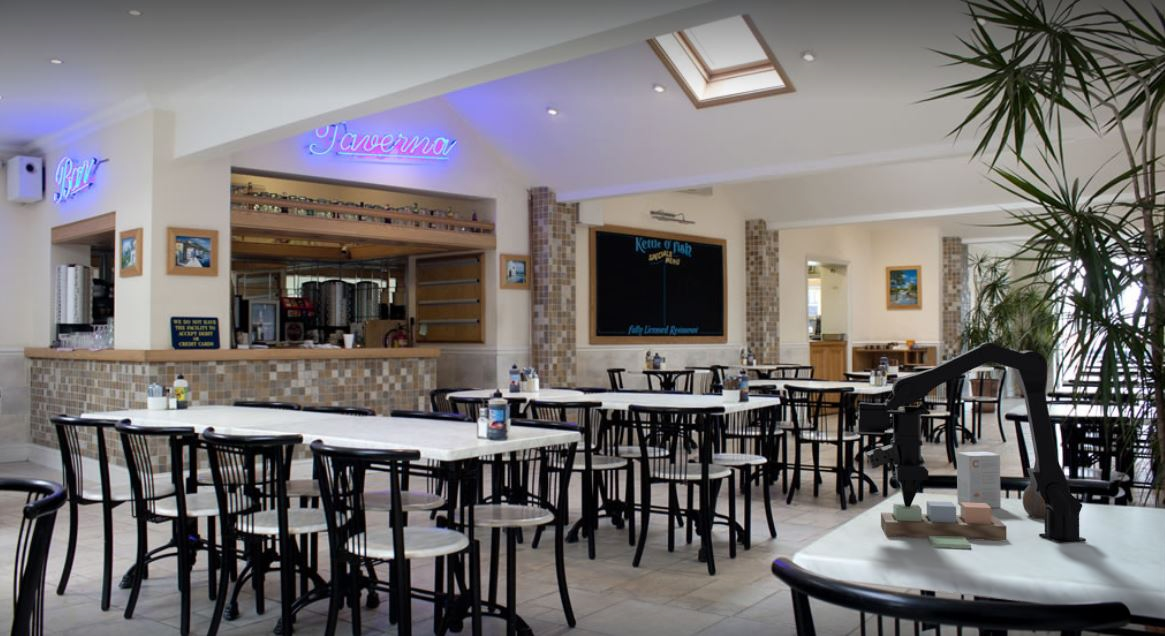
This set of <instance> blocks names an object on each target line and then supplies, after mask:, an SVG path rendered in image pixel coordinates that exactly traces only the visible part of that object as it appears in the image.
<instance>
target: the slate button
mask: <svg viewBox="0 0 1165 636" xmlns="http://www.w3.org/2000/svg"><path fill="white" fill-rule="evenodd" d="M926 514H927V520H928V521H929V522H953V523H956V515H957V506H956V505H955V504H954V503H953V502H952V501H929V500H928V501H926Z"/></svg>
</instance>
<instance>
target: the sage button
mask: <svg viewBox="0 0 1165 636" xmlns="http://www.w3.org/2000/svg"><path fill="white" fill-rule="evenodd" d="M892 505H893V507H892V509H893V510H892V511H893V512H892V513H893V518H894V520H899V521H922V514H923V511H922V508H921V507H920V505H919V504H917V503H914V504H913V503H912V504H911V506H910V507H906V506H905V505H904V503H893V504H892Z"/></svg>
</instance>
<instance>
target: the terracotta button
mask: <svg viewBox="0 0 1165 636" xmlns="http://www.w3.org/2000/svg"><path fill="white" fill-rule="evenodd" d="M960 515H961V520H962V522H963V523H981V524H991V516H992V508H991V507H990V506H989V505H988V504H986V503H967V502H961V505H960Z"/></svg>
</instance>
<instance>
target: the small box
mask: <svg viewBox="0 0 1165 636" xmlns="http://www.w3.org/2000/svg"><path fill="white" fill-rule="evenodd" d="M956 481H957V483H956V485H957V487H956V489H957V493H956V494H957V505H959V506H961V502H967V503H986V504H988V505H989V506H990V507H991V509H992V508H1001V507H1002V506H1001V505H1002V504H1001V455H1000V454H998V453H994V452H990V451H967V452H966V451H965V452H964V451H962V452H960V451H959V452H956Z"/></svg>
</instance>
